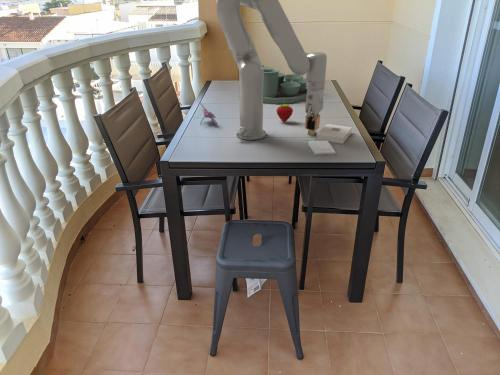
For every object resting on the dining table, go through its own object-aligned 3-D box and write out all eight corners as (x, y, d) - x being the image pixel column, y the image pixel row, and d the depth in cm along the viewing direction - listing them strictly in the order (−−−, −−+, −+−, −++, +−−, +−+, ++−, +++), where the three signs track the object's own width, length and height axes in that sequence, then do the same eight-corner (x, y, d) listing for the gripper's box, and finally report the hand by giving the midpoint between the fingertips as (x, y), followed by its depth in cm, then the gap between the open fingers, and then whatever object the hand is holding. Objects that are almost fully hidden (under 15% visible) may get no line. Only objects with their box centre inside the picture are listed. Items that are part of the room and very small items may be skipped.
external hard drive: (327, 144, 164) (335, 156, 153) (307, 144, 163) (314, 156, 152) (328, 140, 163) (336, 152, 152) (308, 140, 163) (314, 152, 152)
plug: (315, 135, 170) (317, 117, 167) (304, 134, 172) (305, 115, 169) (318, 133, 174) (320, 115, 170) (307, 131, 175) (309, 113, 172)
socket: (342, 143, 162) (343, 137, 161) (316, 139, 167) (316, 133, 165) (351, 133, 173) (351, 127, 172) (326, 129, 178) (327, 123, 176)
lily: (215, 131, 180) (222, 110, 179) (190, 121, 178) (197, 100, 177) (214, 130, 192) (221, 111, 191) (191, 121, 190) (198, 101, 189)
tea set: (320, 102, 216) (323, 71, 208) (247, 106, 211) (246, 74, 203) (300, 85, 251) (302, 57, 243) (237, 88, 245) (236, 60, 238)
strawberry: (292, 124, 184) (293, 103, 179) (275, 123, 185) (276, 102, 180) (292, 120, 189) (293, 99, 184) (276, 119, 190) (277, 98, 185)
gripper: (317, 90, 155) (314, 135, 164) (330, 81, 168) (326, 123, 177) (299, 88, 158) (297, 132, 167) (313, 79, 171) (310, 120, 180)
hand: (312, 127), depth 172 cm, fingers closed on plug, 3 cm apart
